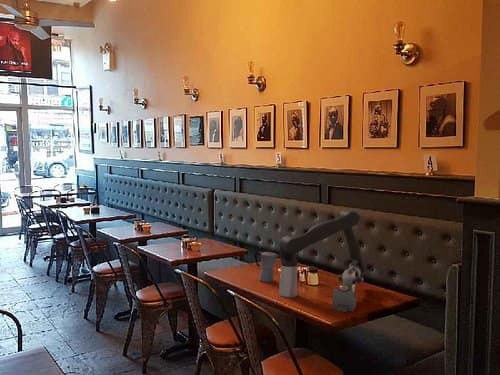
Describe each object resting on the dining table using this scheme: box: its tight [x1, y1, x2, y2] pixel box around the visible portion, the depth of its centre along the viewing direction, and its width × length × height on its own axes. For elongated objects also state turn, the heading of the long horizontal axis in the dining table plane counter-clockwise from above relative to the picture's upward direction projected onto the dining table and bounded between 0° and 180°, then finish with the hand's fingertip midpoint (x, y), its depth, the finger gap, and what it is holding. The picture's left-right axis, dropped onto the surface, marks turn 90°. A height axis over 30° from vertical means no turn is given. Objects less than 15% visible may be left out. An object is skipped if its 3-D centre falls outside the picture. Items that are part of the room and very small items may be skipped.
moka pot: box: [253, 249, 279, 283], centre depth 295 cm, size 10×15×20 cm, turn 81°
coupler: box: [331, 284, 357, 313], centre depth 244 cm, size 10×12×12 cm
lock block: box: [342, 269, 356, 293], centre depth 255 cm, size 5×10×12 cm, turn 159°
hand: (348, 282), depth 253 cm, fingers closed on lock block, 5 cm apart
